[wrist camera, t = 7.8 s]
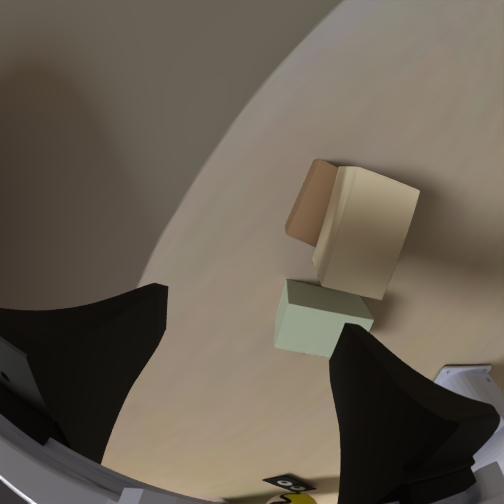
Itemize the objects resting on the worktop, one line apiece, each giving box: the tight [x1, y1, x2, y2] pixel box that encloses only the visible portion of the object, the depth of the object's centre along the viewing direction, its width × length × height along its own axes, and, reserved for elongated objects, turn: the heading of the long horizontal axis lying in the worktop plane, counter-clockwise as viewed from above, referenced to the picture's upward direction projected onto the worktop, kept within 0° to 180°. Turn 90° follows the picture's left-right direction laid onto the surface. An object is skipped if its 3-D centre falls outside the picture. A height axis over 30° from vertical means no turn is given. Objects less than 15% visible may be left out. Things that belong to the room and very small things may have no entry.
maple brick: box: [312, 166, 420, 300], centre depth 14 cm, size 6×4×4 cm, turn 167°
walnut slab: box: [285, 159, 339, 247], centre depth 18 cm, size 7×5×3 cm
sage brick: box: [274, 279, 374, 357], centre depth 19 cm, size 6×4×4 cm, turn 78°
